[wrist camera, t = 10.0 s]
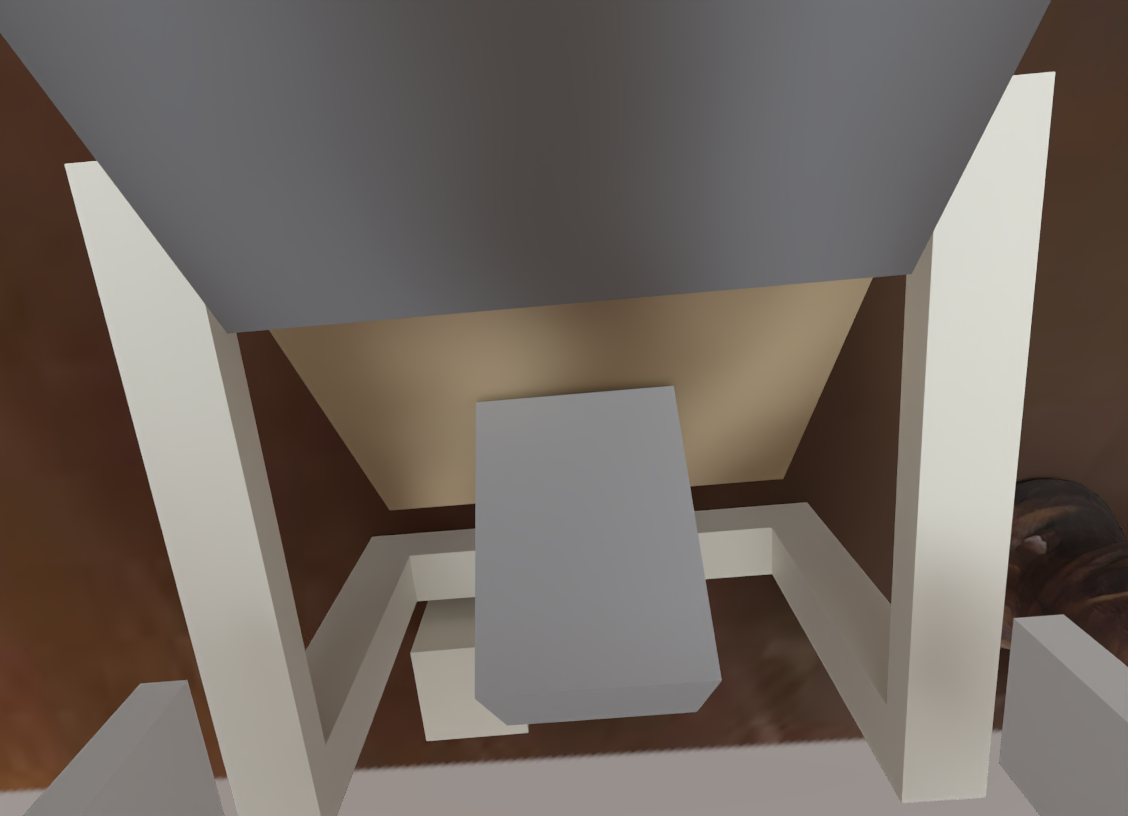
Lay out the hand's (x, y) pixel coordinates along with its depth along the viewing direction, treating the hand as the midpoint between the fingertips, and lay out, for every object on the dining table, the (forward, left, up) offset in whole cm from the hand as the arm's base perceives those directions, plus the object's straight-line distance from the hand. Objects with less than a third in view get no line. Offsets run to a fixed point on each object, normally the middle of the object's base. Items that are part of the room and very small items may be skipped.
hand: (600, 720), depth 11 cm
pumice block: (-5, -9, -17) cm, 20 cm away
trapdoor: (0, +6, -7) cm, 9 cm away
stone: (0, +2, -9) cm, 10 cm away
